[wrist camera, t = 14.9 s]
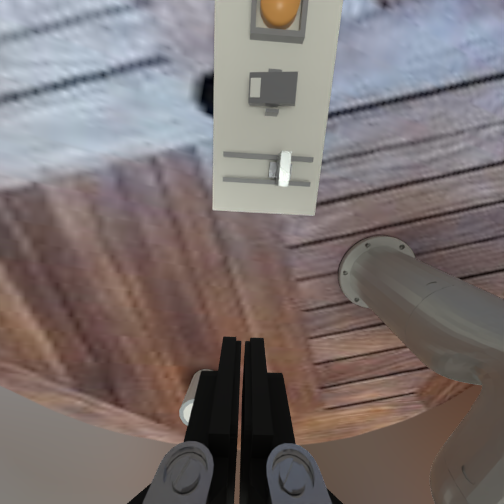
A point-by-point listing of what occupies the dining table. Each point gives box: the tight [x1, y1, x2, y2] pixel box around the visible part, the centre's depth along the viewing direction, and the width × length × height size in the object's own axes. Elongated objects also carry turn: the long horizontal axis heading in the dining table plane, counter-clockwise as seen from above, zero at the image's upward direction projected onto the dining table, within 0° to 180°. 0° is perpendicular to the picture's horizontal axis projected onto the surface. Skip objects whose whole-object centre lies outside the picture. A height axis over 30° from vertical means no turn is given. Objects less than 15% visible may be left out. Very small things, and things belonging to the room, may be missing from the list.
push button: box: [260, 0, 301, 30], centre depth 27 cm, size 4×4×2 cm
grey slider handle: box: [268, 151, 292, 187], centre depth 31 cm, size 3×4×5 cm
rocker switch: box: [248, 72, 298, 107], centre depth 29 cm, size 6×3×2 cm, turn 87°
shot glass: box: [179, 369, 213, 426], centre depth 43 cm, size 7×7×7 cm
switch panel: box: [213, 0, 343, 216], centre depth 31 cm, size 15×30×4 cm, turn 177°
